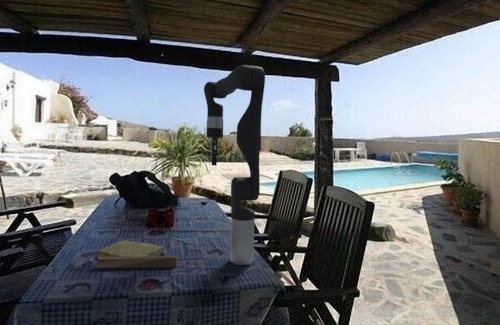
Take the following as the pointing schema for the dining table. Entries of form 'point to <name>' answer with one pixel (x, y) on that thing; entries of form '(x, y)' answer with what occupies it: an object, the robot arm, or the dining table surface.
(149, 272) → the dining table surface
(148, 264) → the walnut rail
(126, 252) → the olive stone slab
